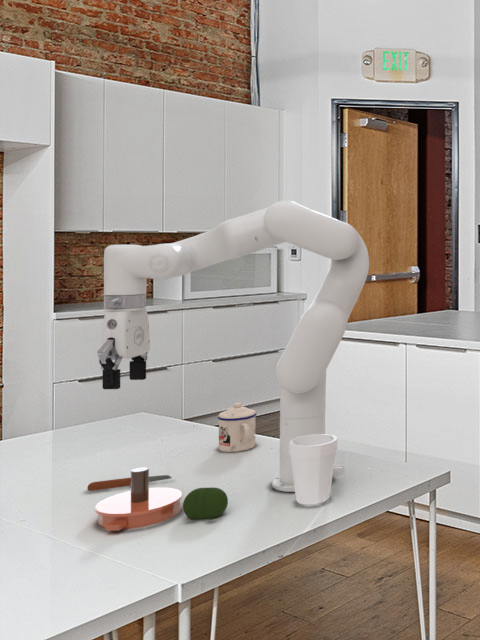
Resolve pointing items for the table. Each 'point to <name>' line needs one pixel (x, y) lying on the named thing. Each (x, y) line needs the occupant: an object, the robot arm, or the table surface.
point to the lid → (138, 498)
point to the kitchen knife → (121, 482)
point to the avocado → (205, 503)
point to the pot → (138, 519)
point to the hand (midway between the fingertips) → (125, 384)
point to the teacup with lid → (236, 429)
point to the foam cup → (313, 467)
